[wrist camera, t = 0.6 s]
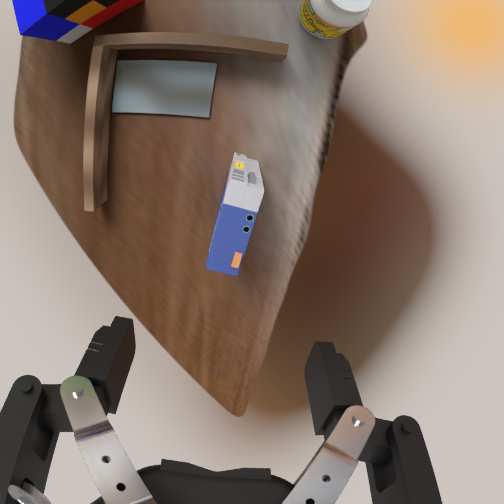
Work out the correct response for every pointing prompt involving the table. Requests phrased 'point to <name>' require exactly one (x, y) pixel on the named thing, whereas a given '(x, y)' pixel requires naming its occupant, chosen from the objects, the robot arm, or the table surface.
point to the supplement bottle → (332, 16)
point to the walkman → (236, 215)
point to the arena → (151, 88)
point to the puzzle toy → (65, 17)
